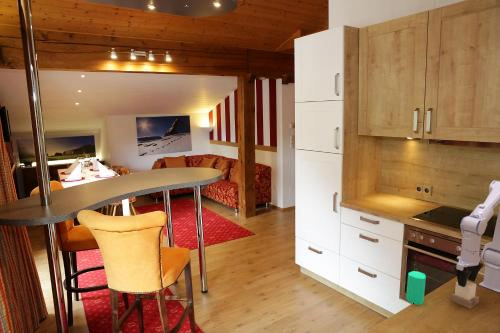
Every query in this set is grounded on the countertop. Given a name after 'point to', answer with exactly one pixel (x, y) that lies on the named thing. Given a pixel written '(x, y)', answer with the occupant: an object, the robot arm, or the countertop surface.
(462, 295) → the block
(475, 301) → the stand
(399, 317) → the countertop surface
